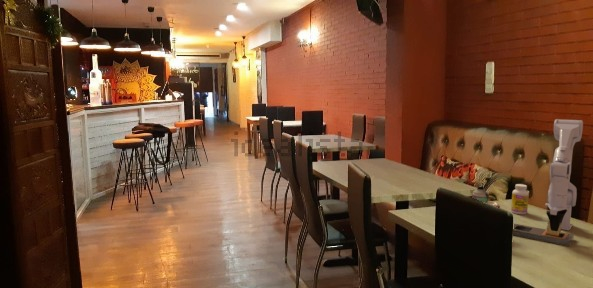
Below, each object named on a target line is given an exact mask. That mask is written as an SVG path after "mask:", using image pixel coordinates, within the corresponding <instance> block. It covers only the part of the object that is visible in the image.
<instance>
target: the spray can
mask: <svg viewBox="0 0 593 288" xmlns="http://www.w3.org/2000/svg"><path fill="white" fill-rule="evenodd" d="M471 197H472V198H474V199H477V200H479V201H482V202H485V203H488V202H489V201H488V200H489V192H488V191H486V190H485V188H484V185H482V184H481V185H478V186H477V188H476V189H474V190H473V191H472V196H471ZM472 198H471V199H472Z"/></svg>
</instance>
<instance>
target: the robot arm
mask: <svg viewBox="0 0 593 288" xmlns="http://www.w3.org/2000/svg"><path fill="white" fill-rule="evenodd" d="M583 128H584V121H583V120H582V119H580V120H579V119H578V120H577V119H559V118H556V119H554V122H553V137H554V139H555V140H556V141H558V147H556V148H555V150H554V154H553V159H552V162H551V163H550V166H549V182H550V184H549V187H548V192H547V202H546V203H545V204H544V206H545V207H548V208H549V210H546V213H545V214H546V215H547V218H548V222H550V228H551V230H552V231H558V229H559V225H560V222H561V223H562V226H561V230H564V231H570V230H571V228H572V226H574V224H573V223H571V219H572V218H571V216H572V207H575V206H576V203H577V195H578V194H577V193H578V192H577V187H576V186H575V185H574V184H573V183H572V182H570V179H571V173H572V162H573V151H574V146H575V145H576V143H578V142H581V139H582V137H583V135H582V134H583Z"/></svg>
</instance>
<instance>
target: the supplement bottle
mask: <svg viewBox="0 0 593 288" xmlns="http://www.w3.org/2000/svg"><path fill="white" fill-rule="evenodd" d="M514 188H515V189H513V190H512V192H511V193H512V194H511V204H510V205H511V208H510V211H511V213H512V214H516V215H526V214H527V213H528V208H529V207H528V206H529V196H530V195H529V194H530V193H529V192H528V190H527V189H528V185H526V184H523V183H516V184H515V186H514Z"/></svg>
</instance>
